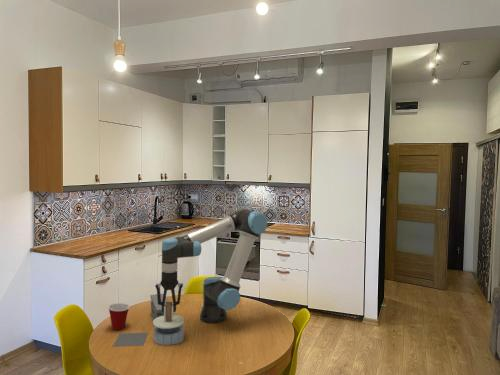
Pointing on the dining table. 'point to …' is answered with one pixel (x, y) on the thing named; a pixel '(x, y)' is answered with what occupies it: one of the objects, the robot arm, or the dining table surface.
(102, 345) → the dining table surface
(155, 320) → the lid
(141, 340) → the mat
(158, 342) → the bowl
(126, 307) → the plastic cup
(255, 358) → the dining table surface
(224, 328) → the dining table surface
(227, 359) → the dining table surface
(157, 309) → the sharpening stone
